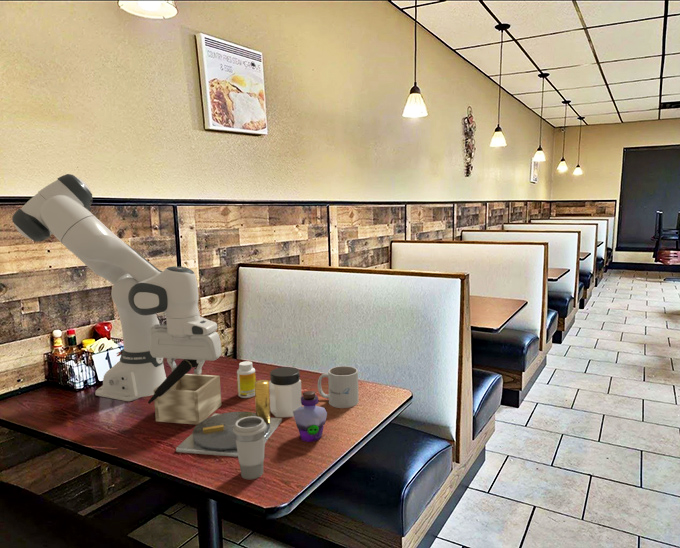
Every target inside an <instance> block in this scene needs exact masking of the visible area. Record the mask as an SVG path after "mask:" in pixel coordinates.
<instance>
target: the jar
mask: <svg viewBox="0 0 680 548" xmlns="http://www.w3.org/2000/svg"><path fill="white" fill-rule="evenodd" d="M300 375H301V374H300V370H299V369H298V368H296V367H294V366H293V367H292V366H282V367H277V368H274V369H272V370H271V371H270V373H269V377H270V380H268V381H269V398H270V414H272V415H273V416H274V418H294V414H293V411H295V410H296V409H298V408H300V407H303V405H302V404H301V397H302V396H303V392H302V380H301V379H300Z"/></svg>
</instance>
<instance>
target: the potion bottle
mask: <svg viewBox="0 0 680 548" xmlns="http://www.w3.org/2000/svg"><path fill="white" fill-rule="evenodd" d="M316 393H317V392H316V391H314V390H308V391H304V392H302V397H301V404H302V407H300V408H298V409H296V410H295V411H293V414H294V416H293V418H294V422H295V424H296V425H295V426H296V428H297V430H298V433H299V434H298V435H299V437H300V440H301V441H303V442H307V443H311V442H316V441H319V440H320V439H322V437H323V431H324V427H325V425H326V420H327V416H328V412H327V411H326V409H325V408H326V407H324V406H318V404H319V397H318V395H317V394H316Z"/></svg>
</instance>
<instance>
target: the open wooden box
mask: <svg viewBox="0 0 680 548" xmlns="http://www.w3.org/2000/svg"><path fill="white" fill-rule="evenodd" d="M158 387H159V386H158ZM158 387H157V388H158ZM157 388H155V389H154V394H155V391H156V389H157ZM221 389H222V388H221V376H220V375H216V374H215V375H211V374H200V375H194V373H186V374H185V375H184V376H183V377H182V378H181V379H180V380H179V381H177V382H176V383H175V384H174V385H173V386H172V387H171V388H170V389H169V390H167V391H166V392H165V393H164V394H163V395H161V396H160V397H157V398H156V399H155V400H154V401H153V402H154V413H155V422H160V423H173V424H174V423H175V424H183V425H184V424H188V425H195V426H197V425H198V424H199V423H200V422H202V421H203V420H205V419H207V418H210V417H211V416H212V415H213V414H214V413H215V412H216V411H217V410H218V409H219V408H221V406H222V390H221Z"/></svg>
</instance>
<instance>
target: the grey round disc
mask: <svg viewBox="0 0 680 548" xmlns="http://www.w3.org/2000/svg"><path fill="white" fill-rule="evenodd" d="M269 381H270V380H268V379H260V380H256V382H255V383H254V384H255V396H254V401H255V412H252V411H230V412H224V413H218V414H219V415H215V416H212V415H211V416H212V417H211V416H209V417H208V418H207V419H205V420H203V421H202V422H200V423H199V424H198V425H195V426H194V428H193V430H192V433H193V440H194V442H195V443H196V444H198V445H199V446H201V447H204V448H208V449H214V450H229V449H237V445H236V434H235V433H234V432H233V428H234V426H235V423H236V421H238V420H239V419H241V418H244V417H249V416H257V417H261V418H262V419H263V420H264V422H265V423H266V425H267V427H266V429H265V430H264V433H265V436H266V435H267V434H268V433H269V431H270V422H271V421H270V418H271V410H270V388H269Z"/></svg>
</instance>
